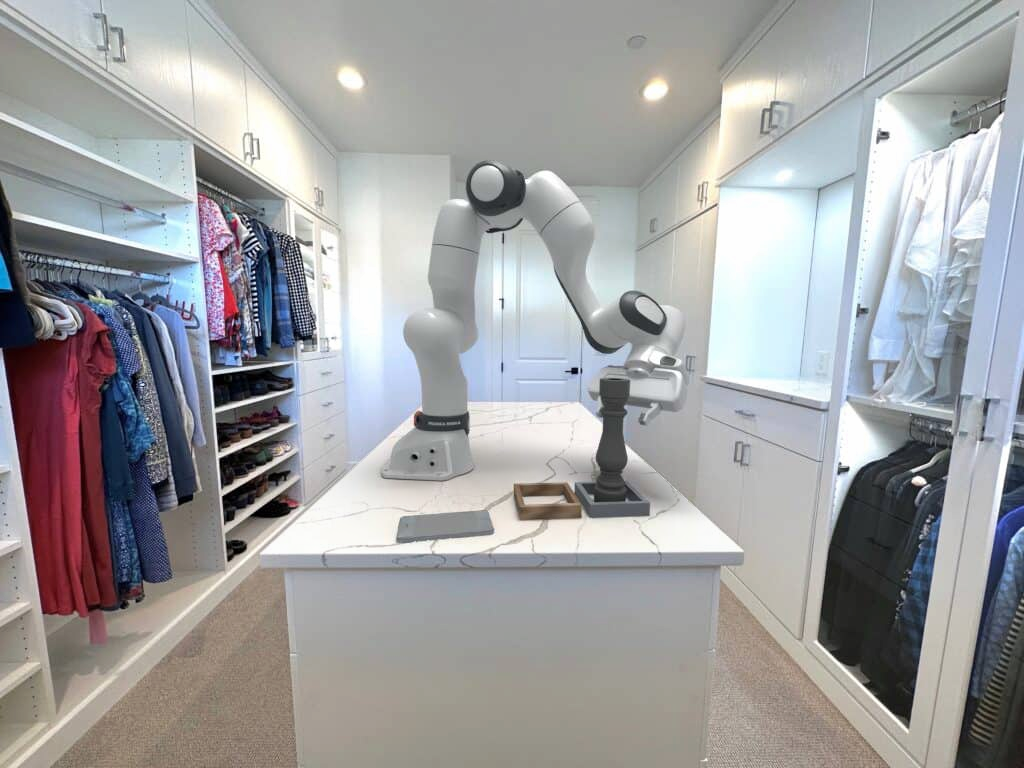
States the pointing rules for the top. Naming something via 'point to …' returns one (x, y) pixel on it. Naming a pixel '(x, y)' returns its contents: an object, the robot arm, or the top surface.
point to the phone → (444, 526)
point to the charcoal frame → (612, 509)
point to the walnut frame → (546, 510)
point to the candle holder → (612, 441)
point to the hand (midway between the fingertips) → (620, 419)
